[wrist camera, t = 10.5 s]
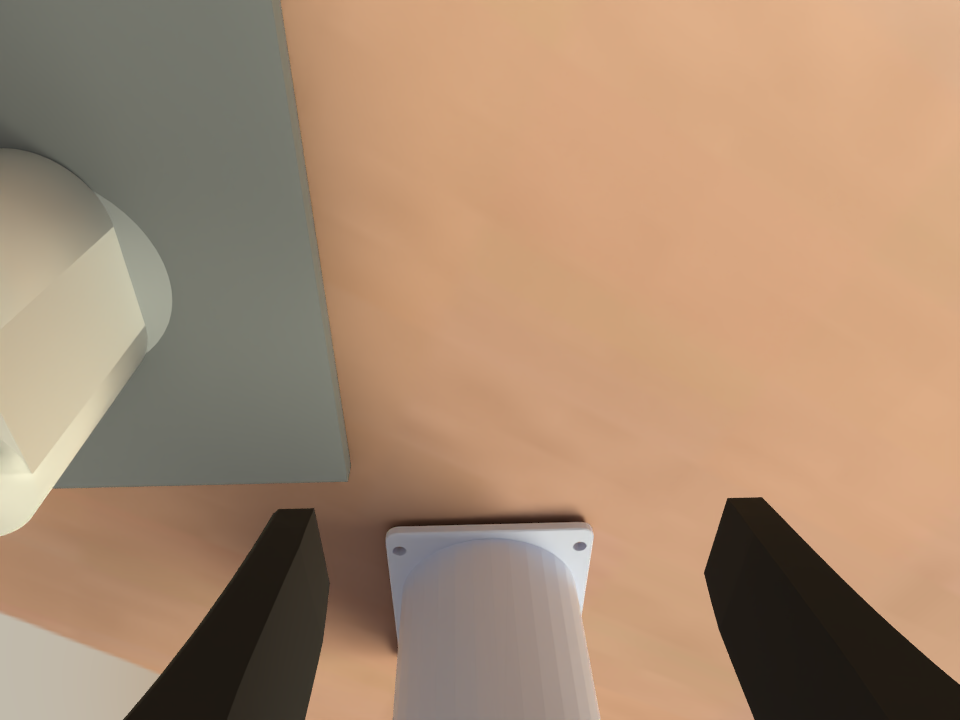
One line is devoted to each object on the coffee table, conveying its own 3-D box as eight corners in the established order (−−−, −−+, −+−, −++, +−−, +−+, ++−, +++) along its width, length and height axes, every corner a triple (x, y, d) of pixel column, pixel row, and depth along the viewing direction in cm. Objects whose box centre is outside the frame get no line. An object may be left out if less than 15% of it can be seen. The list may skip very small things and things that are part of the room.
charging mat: (350, 465, 23) (347, 483, 22) (-50, 474, 23) (-68, 493, 22) (268, -75, 14) (258, -74, 13) (-404, -76, 14) (-454, -76, 13)
